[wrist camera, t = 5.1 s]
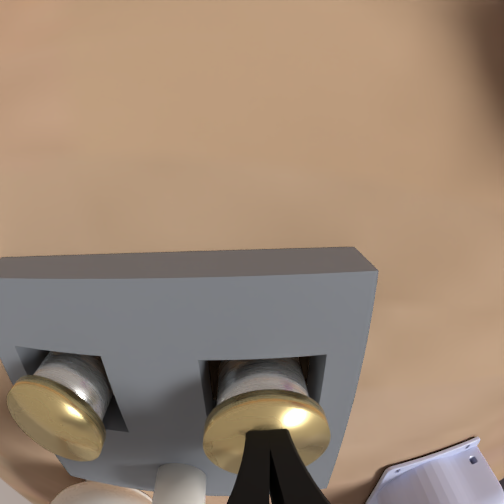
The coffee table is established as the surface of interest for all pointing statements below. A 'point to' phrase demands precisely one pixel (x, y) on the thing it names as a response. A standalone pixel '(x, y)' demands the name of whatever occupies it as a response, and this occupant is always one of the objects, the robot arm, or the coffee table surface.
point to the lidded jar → (100, 494)
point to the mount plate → (188, 340)
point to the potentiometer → (179, 485)
